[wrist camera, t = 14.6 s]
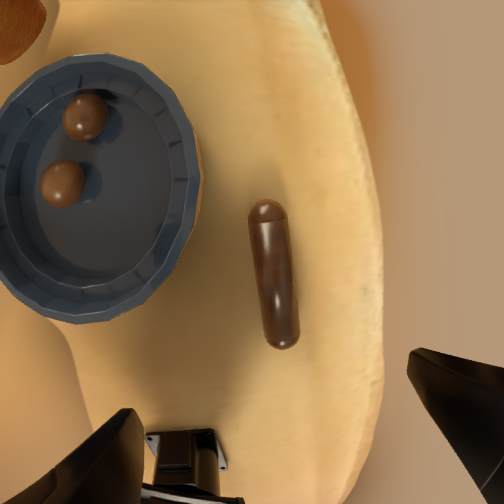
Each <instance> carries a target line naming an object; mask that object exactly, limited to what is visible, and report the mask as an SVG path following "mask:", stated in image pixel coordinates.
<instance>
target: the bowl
mask: <svg viewBox="0 0 504 504" xmlns="http://www.w3.org/2000/svg"><path fill="white" fill-rule="evenodd" d="M83 93H93V94H97V95H99V96H100V97H102V98H103V99H104V100H105V102H106V104H107V106H108V109H109V119H108V122H107V125H106V127H105V129H104V130H103V131H102V132H101V133H100V134H99V135H98V136H97V137H95V138H94V139H92V140H89V141H76V140H73V139H72V138H70V137H69V136H68V135H67V134H66V133H65V131H64V129H63V126H62V115H63V111H64V109H65V107H66V105H67V104H68V103H69V102H70V101H71V100H72V99H73V98H74V97H76V96H78V95H80V94H83ZM59 159H70V160H73V161H75V162H76V163H77V164H78V165H79V166H80V167H81V168H82V170H83V172H84V175H85V189H84V192H83V194H82V196H81V198H80V199H79V200H78V201H77V202H76V203H75V204H73V205H72V206H70V207H67V208H55V207H53V206H51V205H49V204H48V203H47V202H46V201H45V200H44V198H43V196H42V194H41V189H40V181H41V177H42V174H43V172H44V171H45V169H46V168H47V167H48V166H49V165H50V164H51V163H52V162H54V161H56V160H59ZM203 185H204V175H203V168H202V162H201V155H200V149H199V142H198V139H197V137H196V135H195V132H194V130H193V128H192V126H191V124H190V122H189V120H188V118H187V116H186V114H185V112H184V110H183V108H182V106H181V105H180V103H179V101H178V99H177V97H176V95H175V93H174V91H173V90H172V89H171V88H170V87H169V86H168V85H166V84H165V83H164V82H163V81H162V80H161V79H160V78H158V77H157V76H156V75H155V74H154V73H153V72H152V71H150V70H149V69H148V68H147V67H146V66H145V65H143V64H141V63H138V62H135V61H132V60H129V59H126V58H123V57H120V56H117V55H114V54H110V53H95V54H82V55H72V56H69V57H66V58H64V59H62V60H59V61H57V62H55V63H53V64H51V65H48V66H46V67H44V68H42V69H40V70H39V71H37V72H35V73H34V74H33V75H32V76H31V77H29V78H28V79H27V80H26V81H25V82H24V83H23V84H21V86H19V87H18V88H17V89H16V90H15V91H14V92H13V93H12V94H11V95H10V96H9V97H8V98H7V100H6V101H5V103H4V104H3V106H2V107H1V109H0V280H1V281H2V282H3V284H4V285H5V286H6V287H7V289H8V290H9V291H10V292H11V293H12V295H13V296H14V297H15V298H16V299H18V300H19V301H21V302H22V303H24V304H25V305H27V306H28V307H30V308H31V309H33V310H34V311H36V312H37V313H39V314H40V315H42V316H44V317H48V318H52V319H55V320H59V321H63V322H67V323H71V324H85V323H94V322H103V321H110V320H112V319H114V318H116V317H118V316H120V315H122V314H124V313H126V312H128V311H130V310H132V309H133V308H135V307H137V306H139V305H141V304H143V303H144V302H145V301H146V300H147V299H148V298H149V297H150V296H151V295H152V294H153V293H154V292H155V291H156V289H157V288H158V287H159V286H160V285H161V284H162V283H163V282H164V281H165V280H166V279H167V278H168V276H169V275H170V274H171V273H172V272H173V270H174V269H175V267H176V265H177V263H178V261H179V259H180V257H181V255H182V253H183V251H184V249H185V247H186V245H187V243H188V240H189V238H190V236H191V234H192V232H193V230H194V228H195V226H196V224H197V222H198V219H199V212H200V205H201V198H202V192H203Z"/></svg>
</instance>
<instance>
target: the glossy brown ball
mask: <svg viewBox="0 0 504 504" xmlns="http://www.w3.org/2000/svg"><path fill="white" fill-rule="evenodd" d="M40 189H41V194H42V196H43V198H44V200H45V201H46V202H47V203H48V204H49V205H51V206H53V207H55V208H67V207H70V206H72V205H73V204H75V203H76V202H77V201H78V200H79V199H80V198H81V196H82V194H83V192H84V189H85V175H84V172H83V170H82V168H81V167H80V166H79V165H78V164H77V163H76V162H75V161H73V160H70V159H59V160H56V161H54V162H52V163H51V164H50V165H49V166H48V167H47V168H46V169H45V171H44V172H43V174H42V177H41V181H40Z"/></svg>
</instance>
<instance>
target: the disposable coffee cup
mask: <svg viewBox="0 0 504 504" xmlns="http://www.w3.org/2000/svg"><path fill="white" fill-rule="evenodd" d="M45 20H46V10H45V8H44V6H43V5H42V3H41V2H40V0H0V65H5V64H8V63H10V62H12V61H14V60H15V59H17V58H18V57H20V56H21V55H22V54H23V53H24V52H25V51H26V50H27V49H28V48H29V47H30V46H31V45H32V44H33V42H34V41H35V40H36V38H37V37H38V35H39V34H40V32H41V30H42V28H43V26H44V23H45Z"/></svg>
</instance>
